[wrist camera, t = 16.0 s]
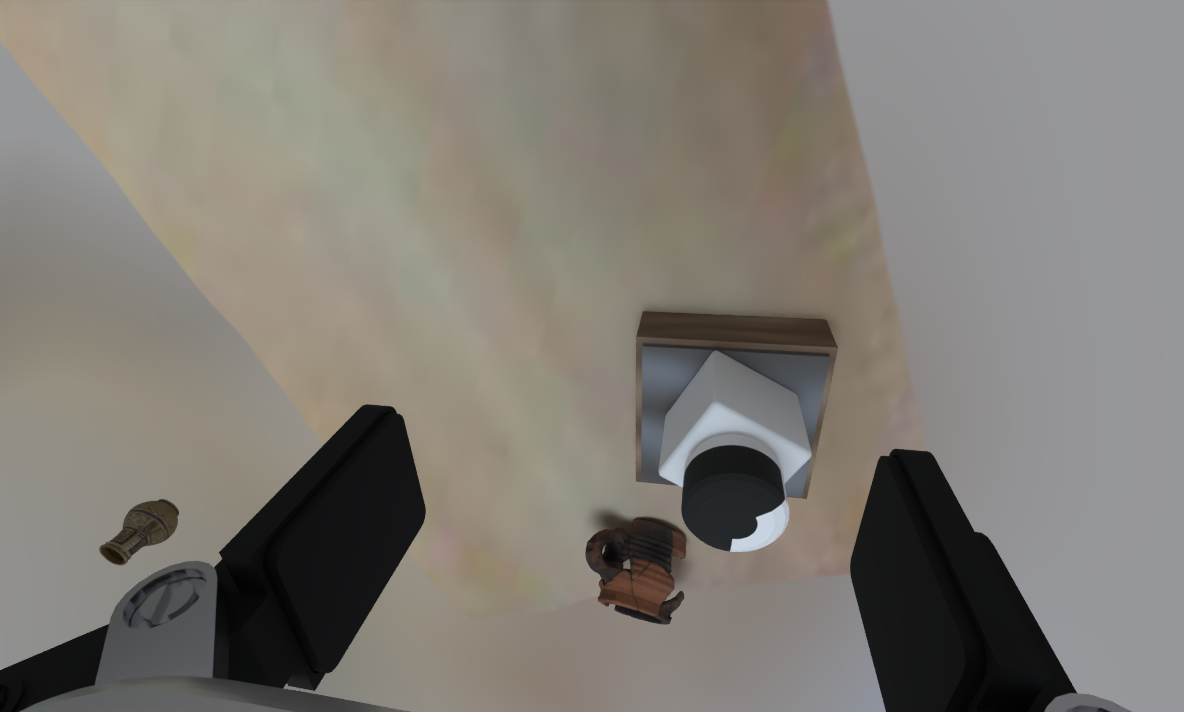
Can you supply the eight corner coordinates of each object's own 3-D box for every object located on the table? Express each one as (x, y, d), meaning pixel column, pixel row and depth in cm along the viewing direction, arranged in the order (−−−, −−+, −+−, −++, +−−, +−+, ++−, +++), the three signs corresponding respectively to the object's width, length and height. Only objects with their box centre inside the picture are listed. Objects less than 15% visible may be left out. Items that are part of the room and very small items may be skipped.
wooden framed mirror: (642, 311, 44) (635, 339, 40) (826, 319, 42) (839, 351, 38) (641, 448, 51) (635, 485, 47) (799, 463, 49) (807, 503, 44)
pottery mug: (714, 546, 56) (698, 633, 52) (656, 547, 63) (638, 623, 59) (622, 499, 51) (597, 589, 47) (571, 506, 59) (546, 584, 55)
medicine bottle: (663, 415, 43) (648, 531, 33) (714, 346, 39) (715, 453, 29) (742, 457, 43) (751, 584, 33) (799, 393, 40) (829, 514, 30)
